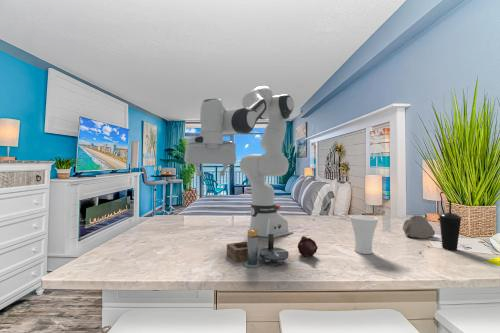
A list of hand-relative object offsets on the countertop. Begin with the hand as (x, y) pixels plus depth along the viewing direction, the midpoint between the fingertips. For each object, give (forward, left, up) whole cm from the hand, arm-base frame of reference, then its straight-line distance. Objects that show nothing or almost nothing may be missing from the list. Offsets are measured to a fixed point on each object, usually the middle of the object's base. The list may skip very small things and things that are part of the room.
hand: (210, 175), depth 101 cm
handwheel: (-16, +21, -27) cm, 38 cm away
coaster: (-8, +20, -29) cm, 36 cm away
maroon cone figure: (-31, +21, -29) cm, 47 cm away
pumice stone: (-99, +23, -29) cm, 105 cm away
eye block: (-8, +11, -29) cm, 32 cm away
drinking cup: (-90, +40, -29) cm, 103 cm away
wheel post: (-16, +21, -29) cm, 39 cm away
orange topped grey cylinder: (-8, +20, -29) cm, 36 cm away
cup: (-54, +27, -29) cm, 67 cm away
